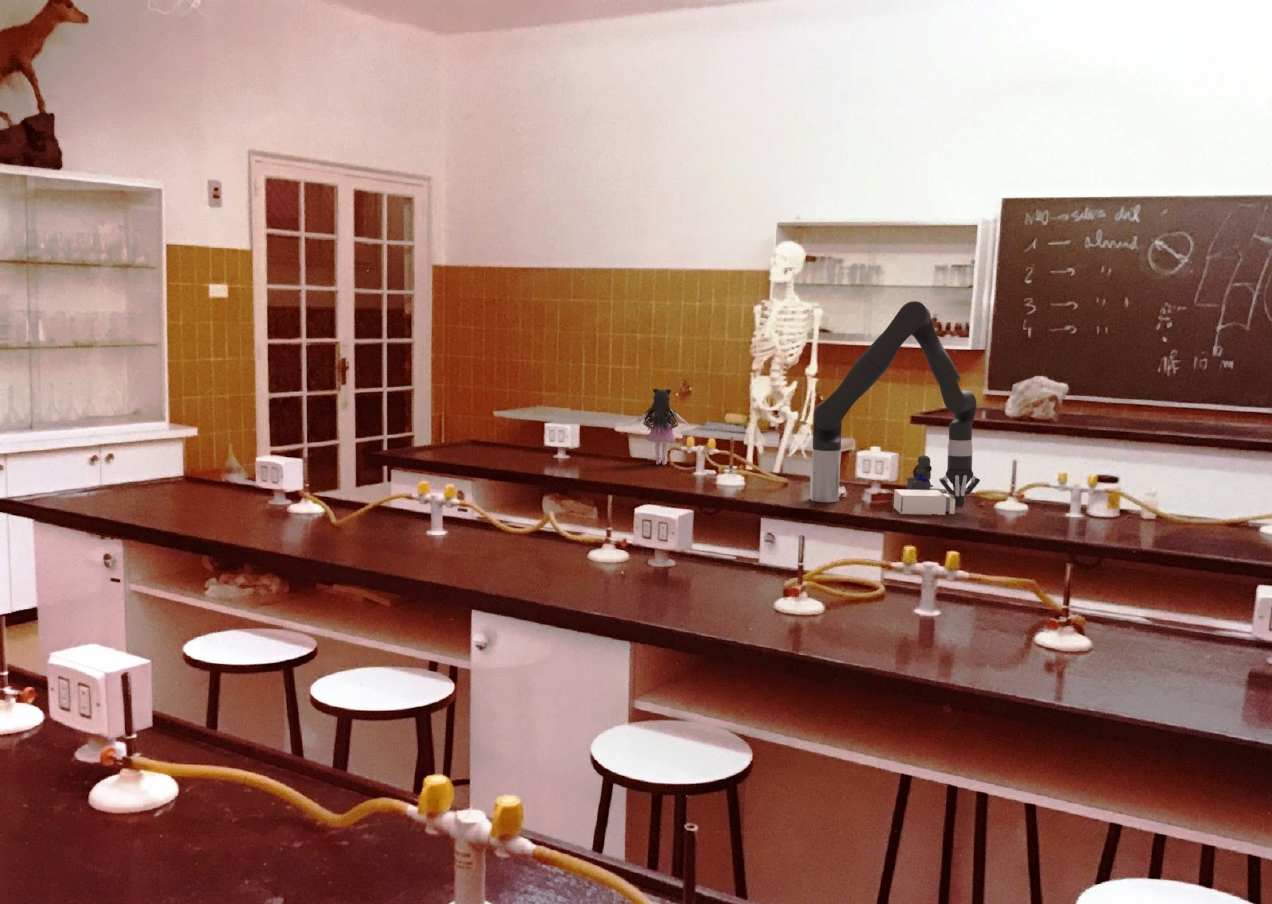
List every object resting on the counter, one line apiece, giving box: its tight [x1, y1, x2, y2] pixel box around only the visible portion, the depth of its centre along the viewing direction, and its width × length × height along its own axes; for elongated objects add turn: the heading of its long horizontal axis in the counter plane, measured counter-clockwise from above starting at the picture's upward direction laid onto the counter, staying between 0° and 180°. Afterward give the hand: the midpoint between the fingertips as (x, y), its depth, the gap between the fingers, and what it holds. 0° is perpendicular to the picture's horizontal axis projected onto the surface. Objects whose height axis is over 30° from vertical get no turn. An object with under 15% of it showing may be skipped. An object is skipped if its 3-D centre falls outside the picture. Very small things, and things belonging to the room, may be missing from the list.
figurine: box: [633, 388, 690, 466], centre depth 452 cm, size 22×10×30 cm, turn 77°
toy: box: [905, 455, 934, 490], centre depth 384 cm, size 11×10×15 cm
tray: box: [943, 493, 956, 515], centre depth 364 cm, size 16×11×5 cm, turn 89°
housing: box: [893, 489, 946, 516], centre depth 364 cm, size 14×11×6 cm
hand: (958, 507), depth 364 cm, fingers closed
